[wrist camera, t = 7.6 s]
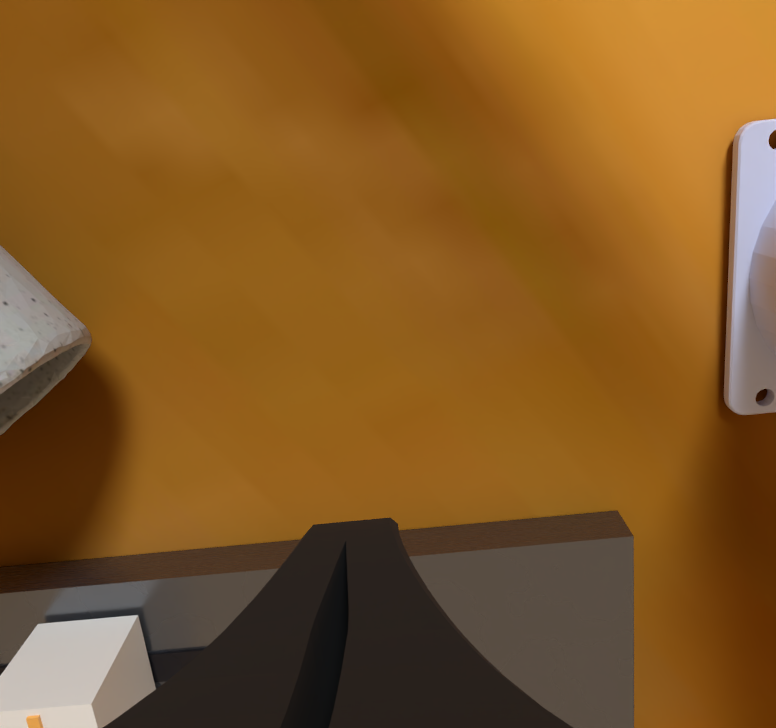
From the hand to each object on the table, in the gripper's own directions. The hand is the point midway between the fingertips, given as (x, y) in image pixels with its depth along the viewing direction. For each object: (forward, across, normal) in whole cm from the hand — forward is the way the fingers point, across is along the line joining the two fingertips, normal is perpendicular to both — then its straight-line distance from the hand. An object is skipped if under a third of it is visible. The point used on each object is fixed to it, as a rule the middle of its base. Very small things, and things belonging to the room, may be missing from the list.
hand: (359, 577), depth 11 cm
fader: (+8, +9, +8) cm, 15 cm away
